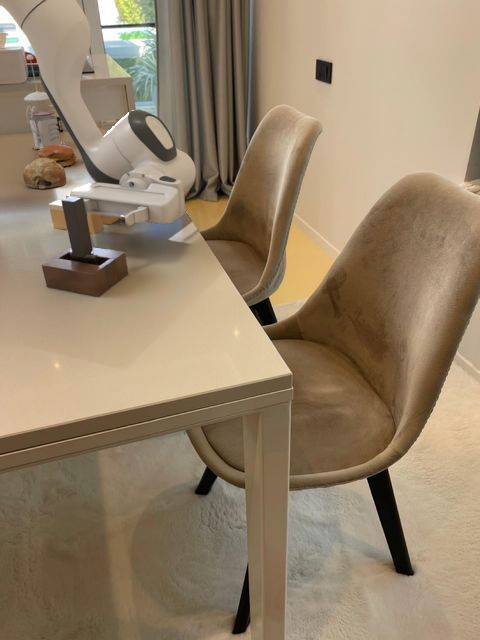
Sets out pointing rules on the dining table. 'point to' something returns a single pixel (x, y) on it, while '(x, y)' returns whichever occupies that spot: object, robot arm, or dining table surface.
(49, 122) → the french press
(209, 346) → the dining table surface
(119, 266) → the knife block
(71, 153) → the burger
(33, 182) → the bread roll
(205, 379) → the dining table surface
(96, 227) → the cake slice
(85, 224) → the cake knife
